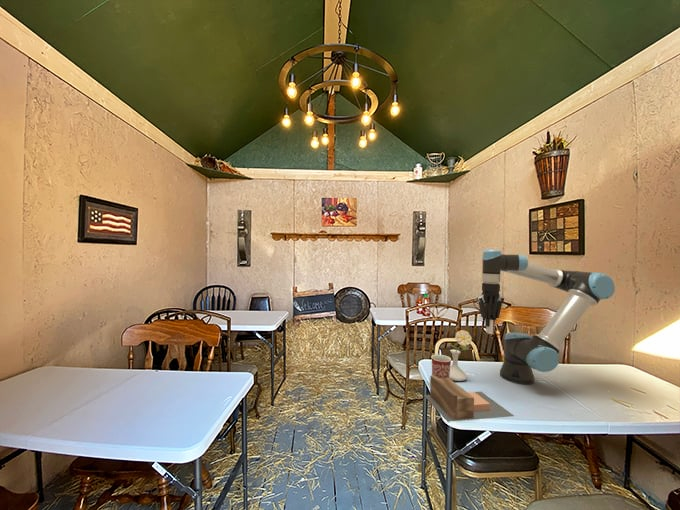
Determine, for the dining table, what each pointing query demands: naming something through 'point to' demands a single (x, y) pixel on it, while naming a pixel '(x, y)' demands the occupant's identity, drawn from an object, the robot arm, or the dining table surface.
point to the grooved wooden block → (451, 398)
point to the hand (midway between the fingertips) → (489, 333)
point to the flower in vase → (463, 340)
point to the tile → (479, 402)
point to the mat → (492, 413)
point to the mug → (441, 366)
